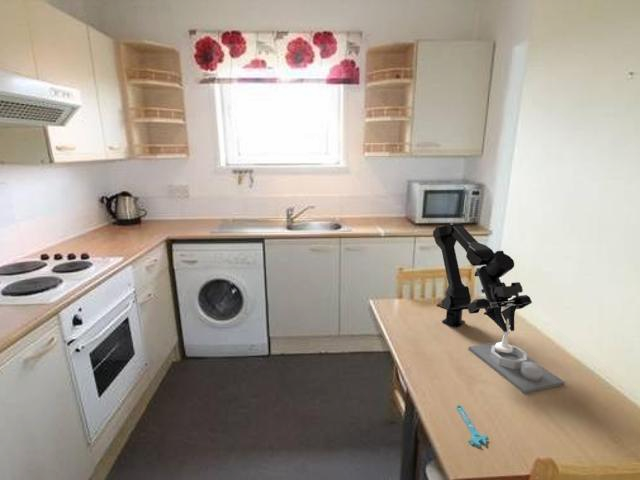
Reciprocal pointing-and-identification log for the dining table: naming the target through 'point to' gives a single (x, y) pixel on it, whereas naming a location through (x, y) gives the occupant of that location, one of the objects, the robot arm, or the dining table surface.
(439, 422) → the dining table surface
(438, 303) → the snack package
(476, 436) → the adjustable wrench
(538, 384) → the carrier plate
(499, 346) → the chess piece
